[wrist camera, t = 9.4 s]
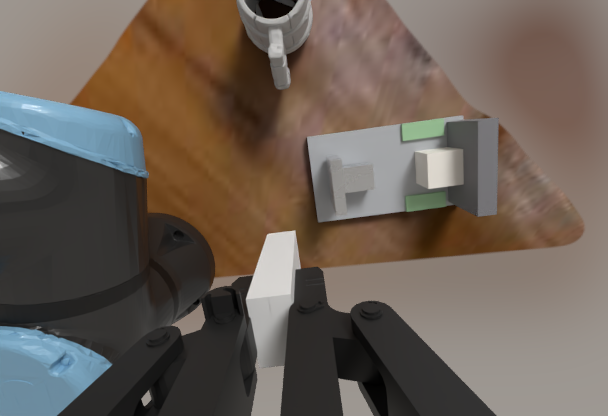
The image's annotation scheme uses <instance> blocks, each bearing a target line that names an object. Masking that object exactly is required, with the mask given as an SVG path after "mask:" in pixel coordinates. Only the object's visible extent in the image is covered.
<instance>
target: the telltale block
mask: <svg viewBox="0 0 608 416" xmlns="http://www.w3.org/2000/svg"><path fill="white" fill-rule="evenodd" d="M415 168H416V183H417V184H419V185H421V186H423V187H425V188H427V189H433V188H440V187H448V186H455V185H463V184H464V167H463V149H459V148H451V147H444V148H437V149H429V150H422V151H415Z"/></svg>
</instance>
